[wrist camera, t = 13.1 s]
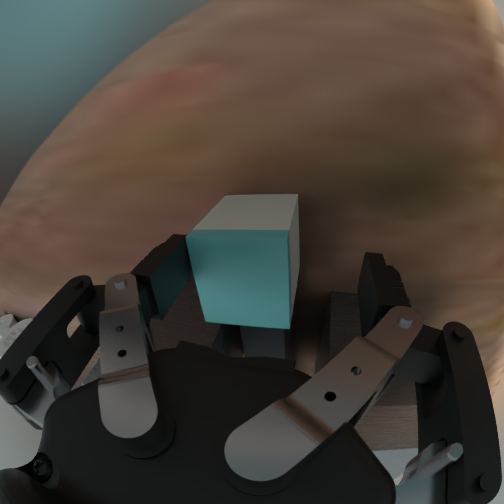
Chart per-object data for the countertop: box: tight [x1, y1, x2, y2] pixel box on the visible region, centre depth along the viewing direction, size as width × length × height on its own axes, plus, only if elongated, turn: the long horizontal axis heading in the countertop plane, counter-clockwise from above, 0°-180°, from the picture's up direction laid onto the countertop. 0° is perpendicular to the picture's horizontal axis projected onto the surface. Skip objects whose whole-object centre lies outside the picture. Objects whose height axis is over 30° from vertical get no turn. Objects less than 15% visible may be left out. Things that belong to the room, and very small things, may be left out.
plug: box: [185, 194, 300, 359], centre depth 19 cm, size 4×21×6 cm, turn 6°
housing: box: [82, 275, 418, 479], centre depth 17 cm, size 18×8×12 cm, turn 91°
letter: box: [0, 314, 33, 359], centre depth 33 cm, size 22×2×10 cm, turn 104°
